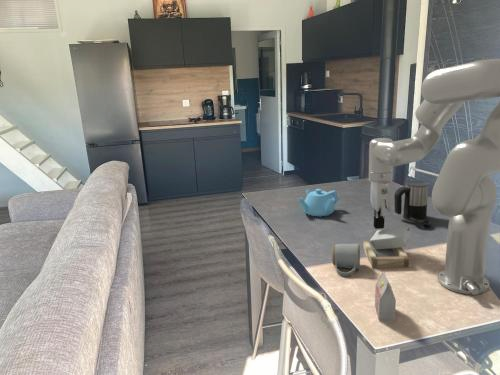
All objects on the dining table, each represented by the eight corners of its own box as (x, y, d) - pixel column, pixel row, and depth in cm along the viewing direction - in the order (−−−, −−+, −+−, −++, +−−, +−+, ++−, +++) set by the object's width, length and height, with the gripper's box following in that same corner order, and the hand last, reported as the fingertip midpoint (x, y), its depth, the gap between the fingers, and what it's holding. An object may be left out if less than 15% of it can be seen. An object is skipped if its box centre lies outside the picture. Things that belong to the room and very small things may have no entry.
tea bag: (389, 306, 99) (391, 271, 96) (394, 321, 93) (396, 284, 90) (374, 305, 100) (375, 270, 97) (378, 321, 93) (380, 284, 91)
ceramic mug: (334, 260, 126) (333, 238, 124) (360, 262, 123) (360, 240, 121) (331, 276, 116) (330, 253, 114) (359, 278, 114) (359, 255, 111)
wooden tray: (408, 267, 118) (409, 258, 117) (372, 267, 119) (372, 259, 118) (395, 248, 132) (396, 240, 131) (362, 248, 132) (363, 240, 132)
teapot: (332, 220, 161) (332, 195, 158) (297, 217, 167) (297, 193, 164) (339, 208, 175) (339, 185, 172) (306, 206, 180) (306, 184, 178)
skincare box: (374, 250, 131) (407, 248, 122) (368, 239, 130) (401, 237, 121) (382, 239, 135) (414, 236, 125) (376, 229, 134) (408, 225, 124)
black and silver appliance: (413, 212, 164) (415, 178, 160) (447, 222, 151) (450, 186, 147) (389, 219, 158) (391, 184, 154) (422, 230, 144) (425, 193, 140)
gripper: (398, 181, 119) (396, 235, 124) (386, 170, 134) (384, 219, 138) (374, 182, 120) (372, 236, 125) (364, 171, 134) (363, 220, 139)
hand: (378, 227), depth 132 cm, fingers closed
